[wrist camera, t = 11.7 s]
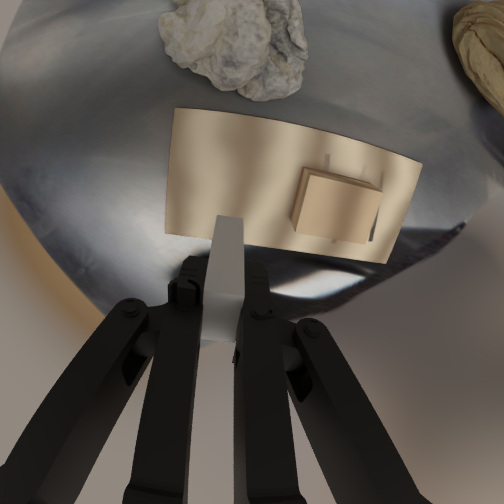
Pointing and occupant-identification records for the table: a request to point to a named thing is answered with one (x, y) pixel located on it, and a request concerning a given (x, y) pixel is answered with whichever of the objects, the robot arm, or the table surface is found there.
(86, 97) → the table surface
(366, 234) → the block
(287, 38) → the mineral
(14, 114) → the table surface
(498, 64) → the fossil
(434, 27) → the table surface
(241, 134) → the board
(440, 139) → the table surface
